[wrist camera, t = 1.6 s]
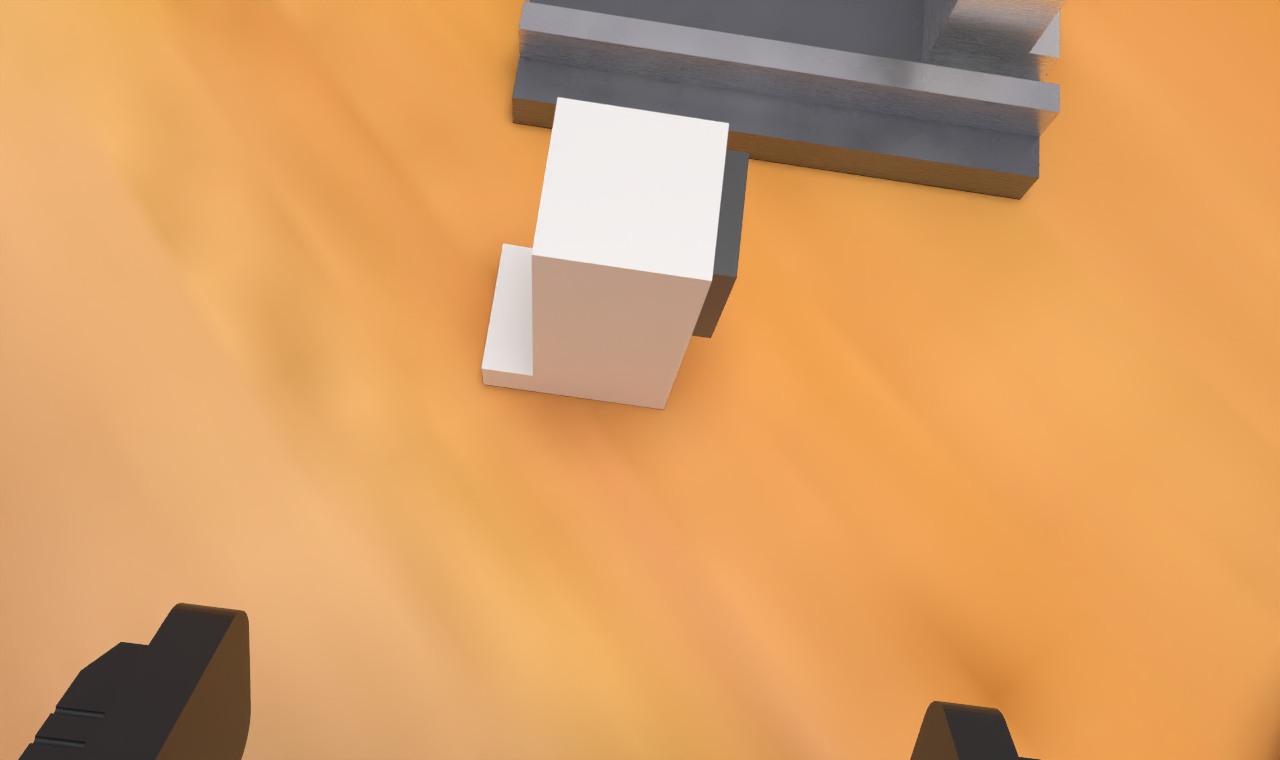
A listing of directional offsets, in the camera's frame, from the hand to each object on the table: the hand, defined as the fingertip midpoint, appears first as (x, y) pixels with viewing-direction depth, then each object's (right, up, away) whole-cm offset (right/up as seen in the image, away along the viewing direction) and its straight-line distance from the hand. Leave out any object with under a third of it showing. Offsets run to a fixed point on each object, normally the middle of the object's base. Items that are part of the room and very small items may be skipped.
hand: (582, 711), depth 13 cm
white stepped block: (0, +5, +22) cm, 22 cm away
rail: (+6, +16, +26) cm, 31 cm away
